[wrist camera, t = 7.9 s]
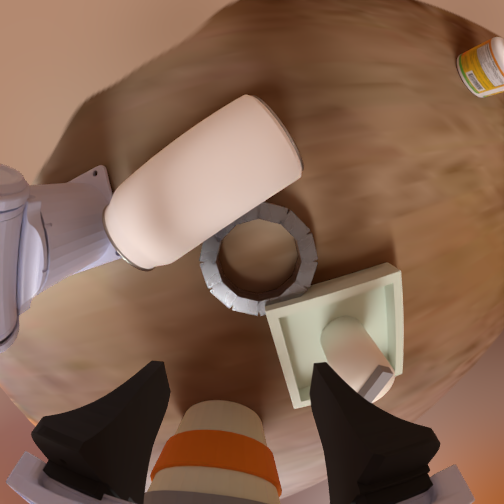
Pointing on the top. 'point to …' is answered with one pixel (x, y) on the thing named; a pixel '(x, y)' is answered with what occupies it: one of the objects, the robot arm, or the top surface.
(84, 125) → the top surface
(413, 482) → the robot arm
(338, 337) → the peg
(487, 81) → the supplement bottle
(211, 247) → the collar
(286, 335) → the tray
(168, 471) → the reusable coffee cup
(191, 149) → the can
